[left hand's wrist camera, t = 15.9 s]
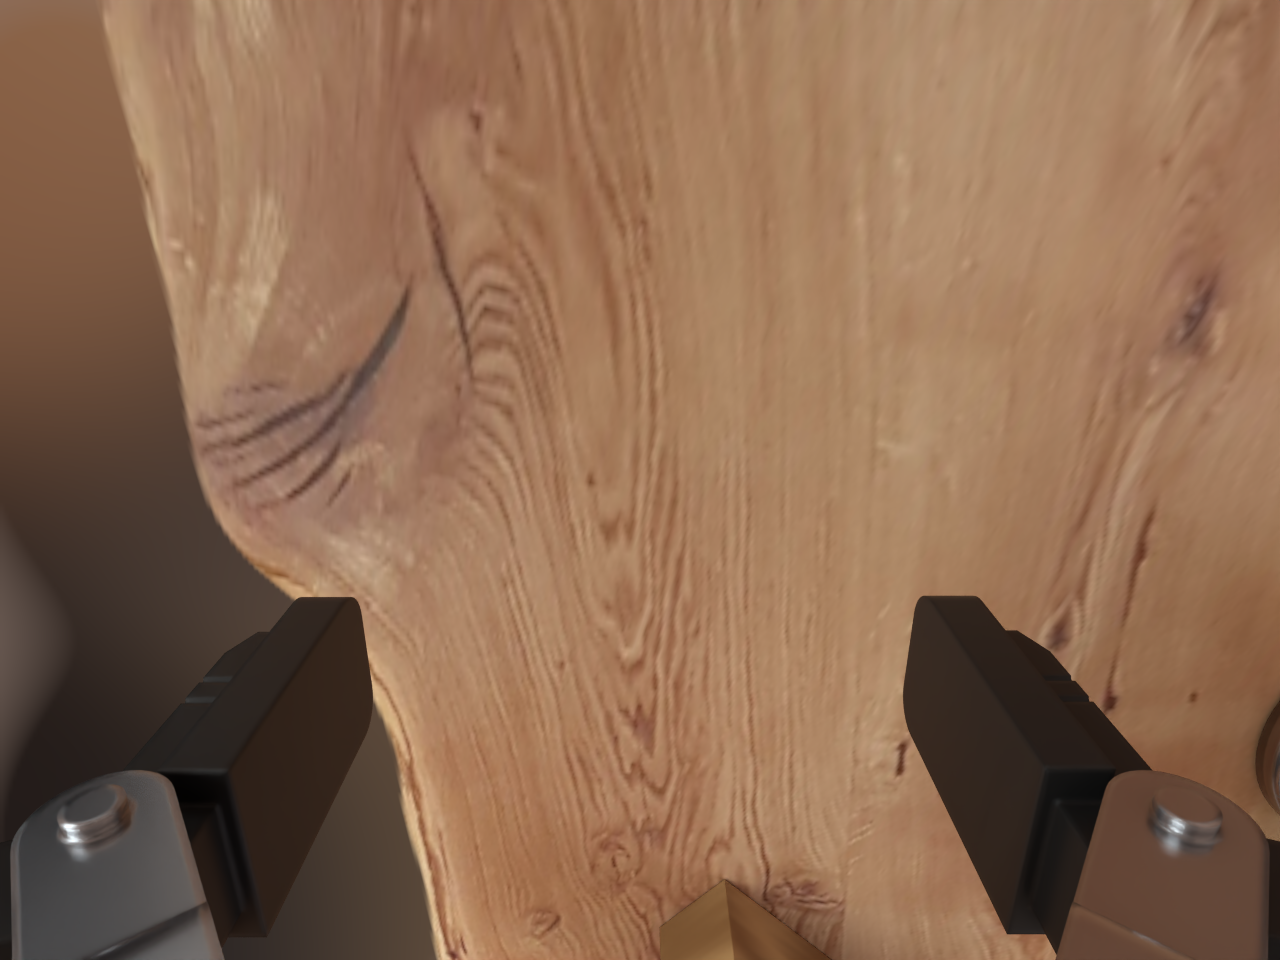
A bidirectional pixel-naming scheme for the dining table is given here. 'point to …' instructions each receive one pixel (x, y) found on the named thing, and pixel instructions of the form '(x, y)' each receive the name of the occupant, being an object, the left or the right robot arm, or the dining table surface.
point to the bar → (731, 931)
